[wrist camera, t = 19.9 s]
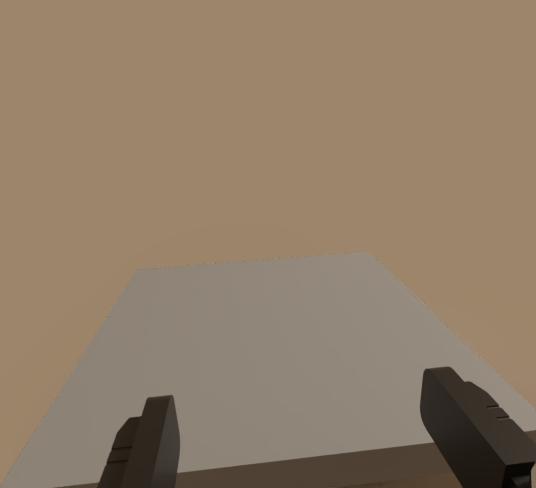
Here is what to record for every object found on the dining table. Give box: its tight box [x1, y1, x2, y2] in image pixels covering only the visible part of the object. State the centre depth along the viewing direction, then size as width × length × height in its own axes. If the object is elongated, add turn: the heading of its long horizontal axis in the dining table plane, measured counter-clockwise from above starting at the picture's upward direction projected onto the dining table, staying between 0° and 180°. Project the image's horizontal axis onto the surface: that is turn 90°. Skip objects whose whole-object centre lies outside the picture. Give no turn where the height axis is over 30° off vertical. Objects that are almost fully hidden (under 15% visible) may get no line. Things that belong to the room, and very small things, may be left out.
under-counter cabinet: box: [0, 252, 536, 488], centre depth 32 cm, size 25×25×24 cm
